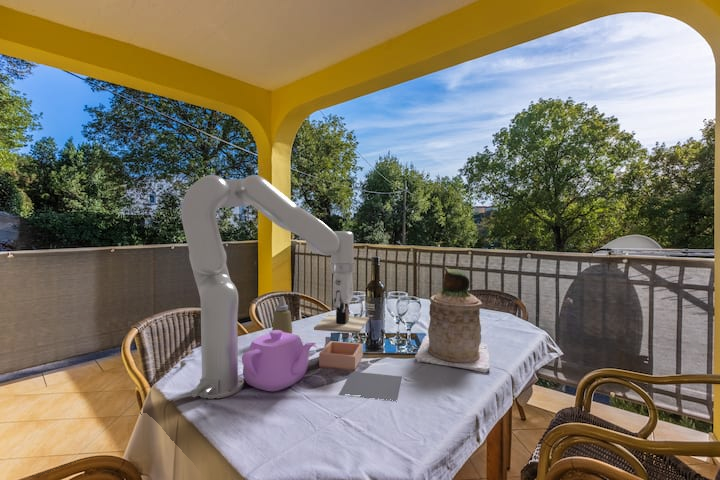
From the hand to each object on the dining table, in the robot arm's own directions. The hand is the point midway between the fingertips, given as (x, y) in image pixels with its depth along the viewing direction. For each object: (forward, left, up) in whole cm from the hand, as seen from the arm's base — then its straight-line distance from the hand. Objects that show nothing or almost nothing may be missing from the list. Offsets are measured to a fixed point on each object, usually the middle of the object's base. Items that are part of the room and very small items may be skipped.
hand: (342, 321), depth 114 cm
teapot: (-17, +15, -14) cm, 27 cm away
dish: (0, 0, -14) cm, 14 cm away
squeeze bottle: (+15, +29, -14) cm, 36 cm away
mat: (-14, -13, -14) cm, 24 cm away
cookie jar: (+16, -37, -15) cm, 43 cm away
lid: (0, 0, -1) cm, 1 cm away
